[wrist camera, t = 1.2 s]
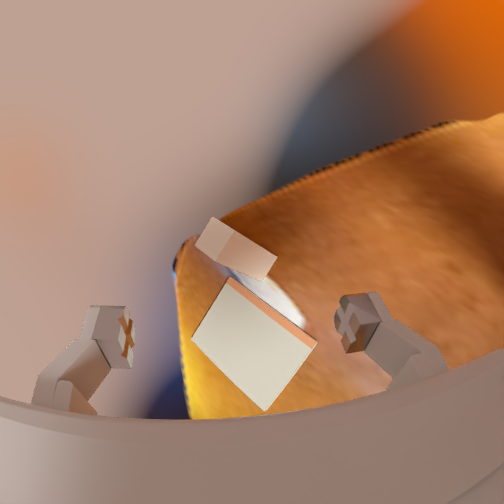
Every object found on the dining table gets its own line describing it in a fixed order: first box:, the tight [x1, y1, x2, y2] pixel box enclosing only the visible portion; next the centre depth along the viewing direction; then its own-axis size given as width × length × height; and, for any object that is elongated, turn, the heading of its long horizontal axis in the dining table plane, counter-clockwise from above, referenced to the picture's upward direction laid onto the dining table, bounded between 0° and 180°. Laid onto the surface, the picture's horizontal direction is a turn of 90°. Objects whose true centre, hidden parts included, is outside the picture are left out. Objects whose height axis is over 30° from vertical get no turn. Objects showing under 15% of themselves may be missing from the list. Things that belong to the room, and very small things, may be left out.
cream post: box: [194, 217, 277, 282], centre depth 42 cm, size 4×4×12 cm
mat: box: [191, 276, 318, 411], centre depth 44 cm, size 13×18×1 cm
